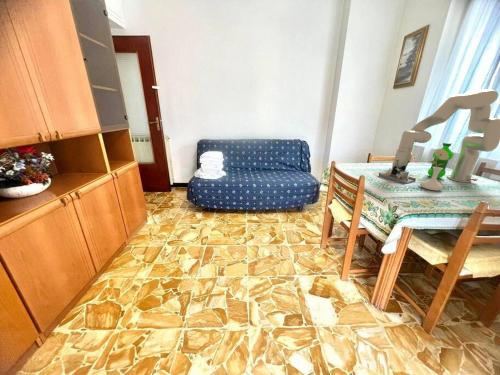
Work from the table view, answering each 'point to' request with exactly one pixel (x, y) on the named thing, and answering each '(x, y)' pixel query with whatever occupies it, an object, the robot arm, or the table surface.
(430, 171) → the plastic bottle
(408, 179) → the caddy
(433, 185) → the flower in vase
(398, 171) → the block
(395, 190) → the table surface
